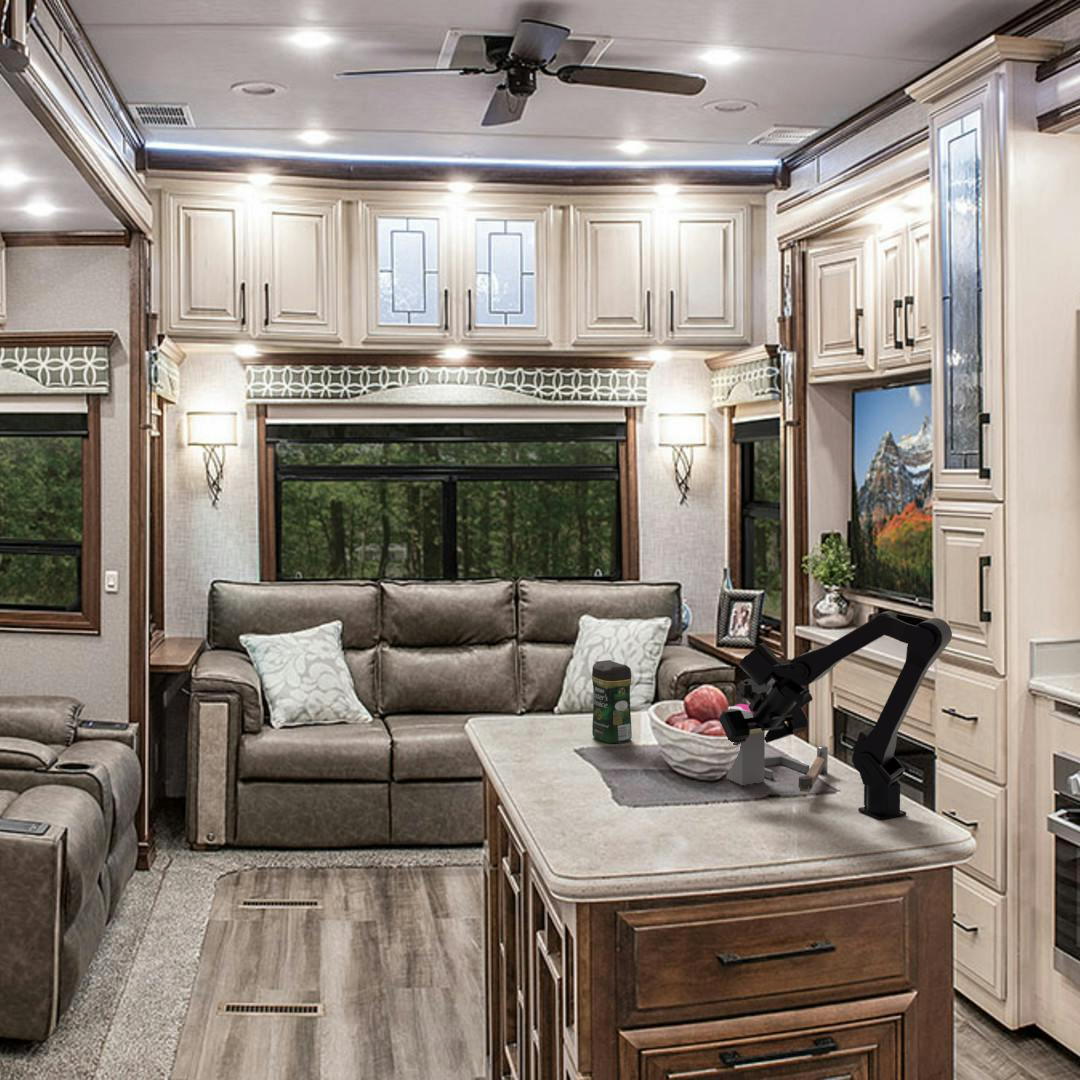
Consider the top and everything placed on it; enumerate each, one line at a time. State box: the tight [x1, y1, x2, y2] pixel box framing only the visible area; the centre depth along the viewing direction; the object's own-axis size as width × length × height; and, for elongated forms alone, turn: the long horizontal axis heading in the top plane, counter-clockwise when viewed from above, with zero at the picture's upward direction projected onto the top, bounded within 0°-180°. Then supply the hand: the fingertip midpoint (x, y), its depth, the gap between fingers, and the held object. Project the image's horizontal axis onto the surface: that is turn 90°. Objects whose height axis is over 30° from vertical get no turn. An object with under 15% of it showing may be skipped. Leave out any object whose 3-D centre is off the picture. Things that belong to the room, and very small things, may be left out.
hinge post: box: [816, 745, 829, 775], centre depth 261 cm, size 2×2×6 cm
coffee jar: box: [591, 659, 633, 744], centre depth 291 cm, size 10×8×19 cm
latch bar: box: [798, 756, 826, 793], centre depth 249 cm, size 3×22×2 cm, turn 159°
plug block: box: [726, 729, 766, 786], centre depth 256 cm, size 6×6×11 cm
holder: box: [764, 754, 810, 780], centre depth 264 cm, size 10×10×2 cm
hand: (747, 743), depth 255 cm, fingers open, 9 cm apart
